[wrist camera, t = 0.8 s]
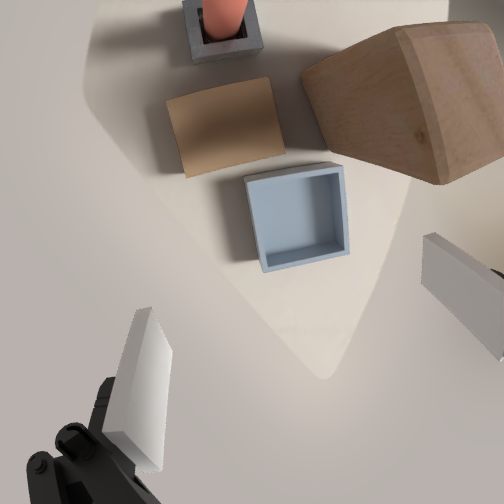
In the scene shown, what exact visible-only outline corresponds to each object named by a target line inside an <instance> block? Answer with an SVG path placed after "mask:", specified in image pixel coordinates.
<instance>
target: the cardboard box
mask: <svg viewBox="0 0 504 504" xmlns="http://www.w3.org/2000/svg"><path fill="white" fill-rule="evenodd" d="M166 104H167V108H168V112H169V115H170V119H171V123H172V127H173V131H174V135H175V138H176V142H177V146H178V150H179V153H180V157H181V161H182V164H183V168H184V172H185V175H186V178H190V177H193V176H197V175H200V174H204V173H208V172H211V171H215V170H219V169H223V168H227V167H231V166H235V165H239V164H243V163H247V162H251V161H256V160H260V159H264V158H269V157H273V156H278V155H282V154H286V152H285V147H284V143H283V138H282V133H281V129H280V124H279V120H278V115H277V111H276V106H275V102H274V98H273V93H272V89H271V85H270V81H269V77H262V78H257V79H252V80H246V81H241V82H237V83H232V84H227V85H223V86H219V87H215V88H210V89H206V90H202V91H199V92H195V93H191V94H187V95H184V96H180V97H177V98H173V99H170V100H167V101H166Z"/></svg>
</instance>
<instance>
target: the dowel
mask: <svg viewBox="0 0 504 504" xmlns="http://www.w3.org/2000/svg"><path fill="white" fill-rule="evenodd" d="M247 2H248V0H202V6H203V20H204V33H205V36H206V38H207V39H208V40H209V41H210V42H211V43H216V42H222V41H228V40H234V39H235V38H236V37H237V34H238V31H239V28H240V24H241V21H242V18H243V15H244V11H245V8H246V5H247Z"/></svg>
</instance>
